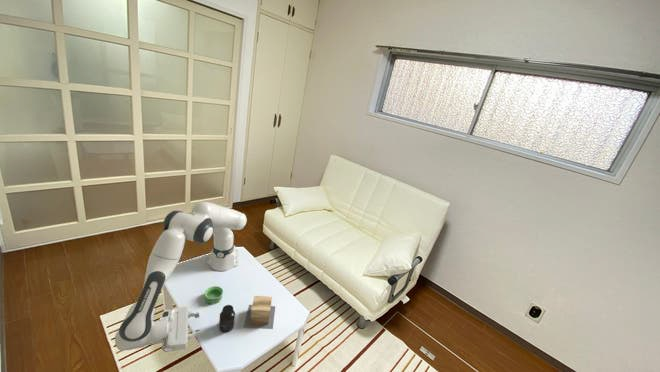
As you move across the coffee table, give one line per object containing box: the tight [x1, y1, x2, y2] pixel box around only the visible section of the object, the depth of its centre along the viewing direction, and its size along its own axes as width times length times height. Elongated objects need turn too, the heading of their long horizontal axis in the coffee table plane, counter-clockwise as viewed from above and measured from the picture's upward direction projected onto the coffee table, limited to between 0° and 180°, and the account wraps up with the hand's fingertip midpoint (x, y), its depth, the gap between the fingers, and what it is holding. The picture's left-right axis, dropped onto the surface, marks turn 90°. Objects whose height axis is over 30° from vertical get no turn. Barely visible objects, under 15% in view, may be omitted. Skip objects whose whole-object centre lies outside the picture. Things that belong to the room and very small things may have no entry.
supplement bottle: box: [218, 304, 236, 334], centre depth 126 cm, size 7×7×12 cm
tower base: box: [250, 317, 269, 324], centre depth 136 cm, size 9×9×4 cm
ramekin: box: [204, 285, 224, 305], centre depth 141 cm, size 9×9×4 cm
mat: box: [243, 304, 276, 330], centre depth 137 cm, size 14×14×1 cm
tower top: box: [251, 295, 273, 318], centre depth 134 cm, size 9×9×4 cm
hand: (199, 323), depth 120 cm, fingers open, 8 cm apart
